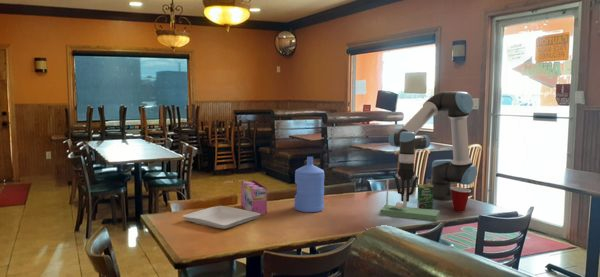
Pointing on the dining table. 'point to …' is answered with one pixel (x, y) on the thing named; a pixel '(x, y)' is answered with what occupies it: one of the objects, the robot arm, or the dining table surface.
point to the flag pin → (387, 193)
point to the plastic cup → (459, 198)
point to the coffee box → (425, 196)
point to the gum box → (254, 197)
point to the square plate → (221, 217)
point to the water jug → (309, 188)
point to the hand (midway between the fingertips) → (404, 207)
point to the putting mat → (410, 212)
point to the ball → (399, 205)
